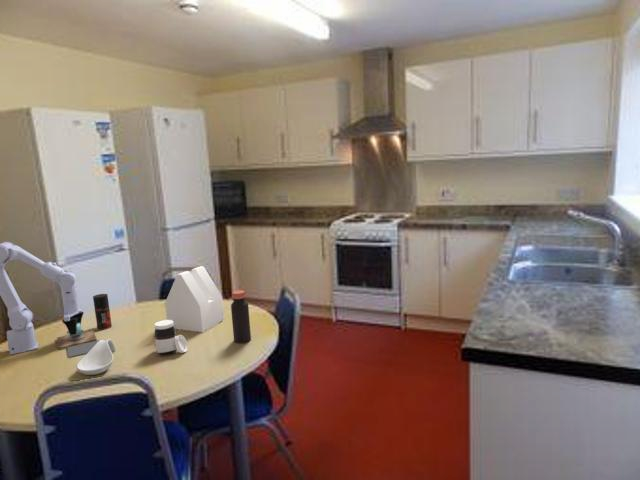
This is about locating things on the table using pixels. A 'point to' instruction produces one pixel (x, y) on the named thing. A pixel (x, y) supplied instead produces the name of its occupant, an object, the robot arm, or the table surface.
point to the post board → (75, 339)
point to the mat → (80, 349)
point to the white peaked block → (194, 301)
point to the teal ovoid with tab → (77, 330)
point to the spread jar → (168, 339)
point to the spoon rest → (97, 358)
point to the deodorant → (102, 311)
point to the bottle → (240, 317)
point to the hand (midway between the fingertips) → (75, 332)
